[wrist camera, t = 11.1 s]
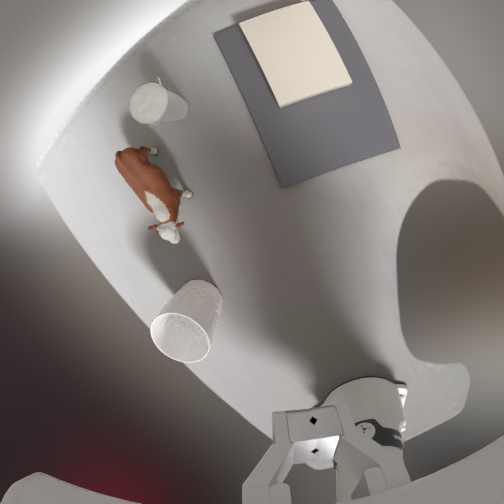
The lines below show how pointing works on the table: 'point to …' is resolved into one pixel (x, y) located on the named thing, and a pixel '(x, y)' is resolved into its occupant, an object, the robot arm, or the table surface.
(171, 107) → the milkshake
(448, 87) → the table surface
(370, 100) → the mat
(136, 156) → the bull figurine
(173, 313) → the white cup
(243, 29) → the tile
